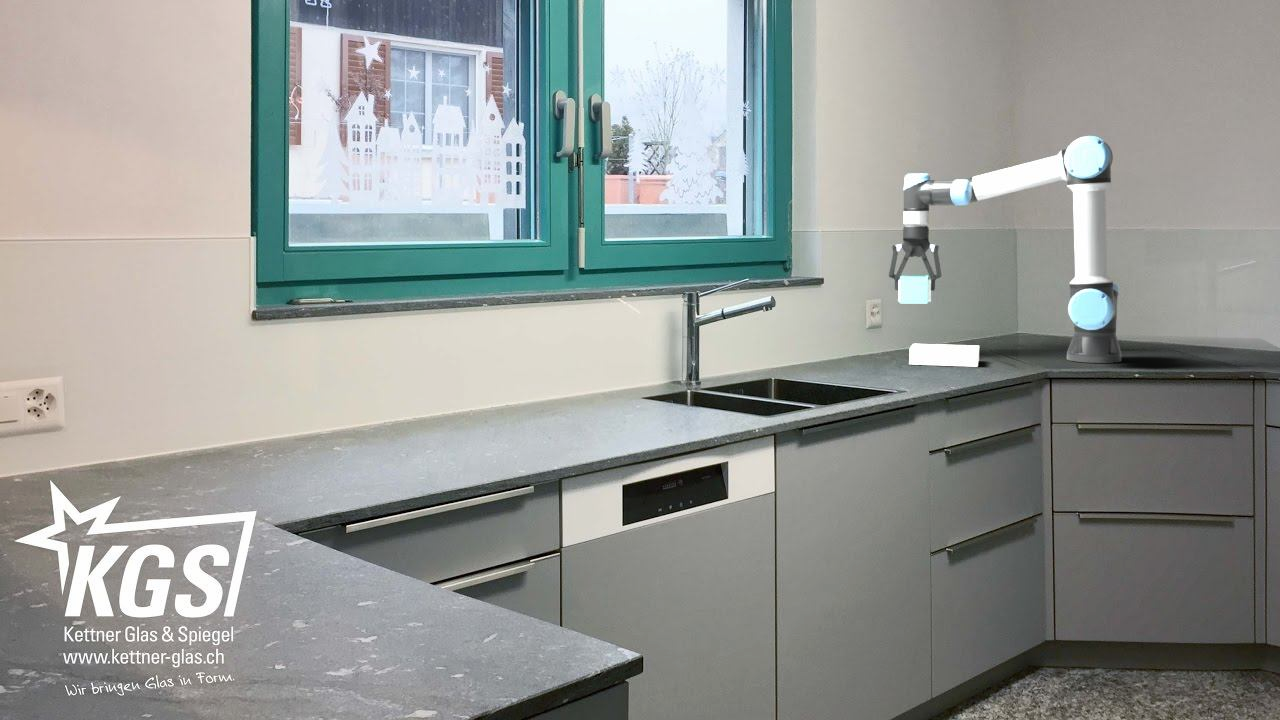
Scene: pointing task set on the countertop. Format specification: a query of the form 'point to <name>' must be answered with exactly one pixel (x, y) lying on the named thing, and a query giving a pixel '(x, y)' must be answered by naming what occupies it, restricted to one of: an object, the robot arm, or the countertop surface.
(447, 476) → the countertop surface
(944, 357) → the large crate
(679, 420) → the countertop surface
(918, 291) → the small crate
